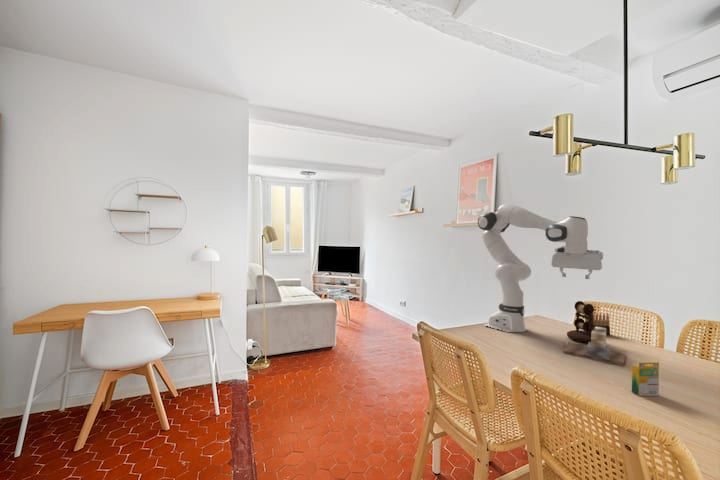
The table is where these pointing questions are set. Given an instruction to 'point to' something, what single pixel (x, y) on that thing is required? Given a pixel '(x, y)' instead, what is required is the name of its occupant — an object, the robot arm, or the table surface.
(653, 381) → the crayon box
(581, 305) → the dark brown rounded figure
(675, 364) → the table surface
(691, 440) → the table surface
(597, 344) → the maple block
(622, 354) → the building board
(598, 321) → the ammunition clip
